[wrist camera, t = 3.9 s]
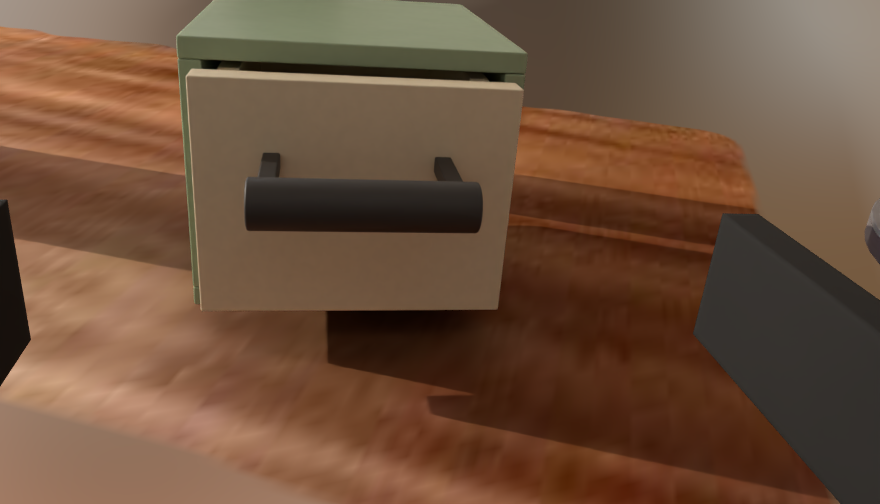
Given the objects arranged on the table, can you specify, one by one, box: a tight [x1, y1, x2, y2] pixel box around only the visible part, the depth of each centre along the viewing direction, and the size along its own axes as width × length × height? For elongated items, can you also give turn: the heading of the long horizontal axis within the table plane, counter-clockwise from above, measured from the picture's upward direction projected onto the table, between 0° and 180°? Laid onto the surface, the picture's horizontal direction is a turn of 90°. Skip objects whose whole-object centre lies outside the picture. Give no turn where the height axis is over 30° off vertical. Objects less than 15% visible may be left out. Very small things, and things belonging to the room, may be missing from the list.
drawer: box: [186, 60, 524, 311], centre depth 31 cm, size 18×11×9 cm, turn 8°
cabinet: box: [176, 0, 528, 304], centre depth 36 cm, size 15×13×11 cm
